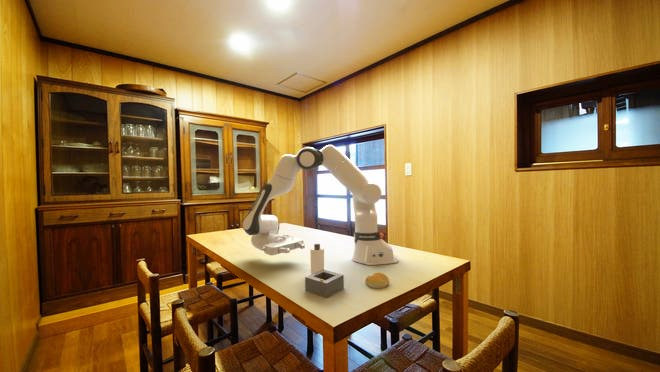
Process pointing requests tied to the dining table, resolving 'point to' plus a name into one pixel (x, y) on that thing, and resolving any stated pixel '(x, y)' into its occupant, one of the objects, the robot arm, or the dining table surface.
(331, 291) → the socket block
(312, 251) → the plug
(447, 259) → the dining table surface
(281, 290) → the dining table surface
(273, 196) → the robot arm
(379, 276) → the bread roll
